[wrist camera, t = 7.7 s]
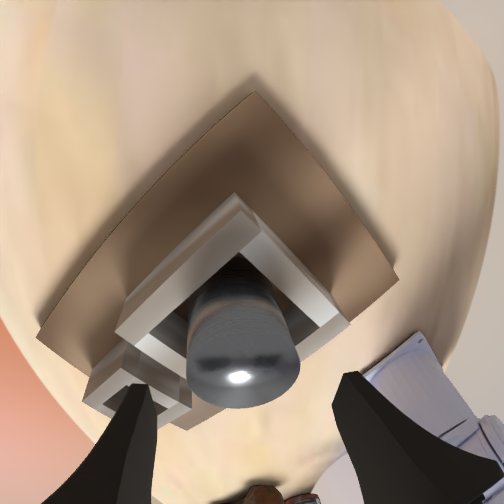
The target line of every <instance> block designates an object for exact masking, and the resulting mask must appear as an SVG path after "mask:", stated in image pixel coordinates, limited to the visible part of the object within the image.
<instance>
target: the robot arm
mask: <svg viewBox="0 0 504 504" xmlns="http://www.w3.org/2000/svg"><path fill="white" fill-rule="evenodd" d="M332 409H333V413H334V417H335V421H336V424H337V428H338V430H339V433H340V435H341V437H342V440H343V442H344V445H345V447H346V449H347V452H348V454H349V457H350V459H351V461H352V464H353V466H354V468H355V471H356V474H357V476H358V480H359V484H360V487H361V492H362V495H363V500H364V504H504V424H503V423H502V422H501V421H500V420H499V419H498V418H497V417H496V416H495V415H492V416H488V415H485V416H484V417H483V418H482V419H479V418H477V417H476V416H475V415H474V413H473V412H472V410H471V409H470V407H469V406H468V405H467V403H466V402H465V401H464V399H463V398H462V397H461V395H460V394H459V392H458V391H457V390H456V388H455V387H454V386H453V384H452V383H451V382H450V381H449V379H448V378H447V376H446V375H445V374H444V372H443V369H442V367H441V365H440V364H439V362H438V360H437V358H436V356H435V354H434V353H433V351H432V349H431V347H430V345H429V344H428V342H427V340H426V338H425V337H424V335H423V334H422V332H420V331H418V332H416V333H415V334H413V335H412V336H411V337H410V338H409V339H408V340H406V341H405V342H404V343H403V344H402V345H401V346H399V347H398V348H397V349H396V350H394V351H393V352H392V353H391V354H389V355H388V356H387V357H386V358H384V359H383V360H382V361H381V362H379V363H378V364H377V365H375V366H374V367H373V368H371V369H370V370H369V371H367V372H366V373H365V374H363V375H361V374H360V373H359V372H358V371H354V372H348V373H344V374H343V376H342V379H341V382H340V384H339V387H338V390H337V392H336V395H335V398H334V400H333V403H332ZM156 444H157V413H156V410H155V406H154V403H153V399H152V396H151V392H150V389H149V385H148V384H136V383H132V384H131V385H130V386H129V388H128V390H127V392H126V394H125V396H124V398H123V400H122V402H121V404H120V405H119V407H118V409H117V411H116V413H115V414H114V416H113V418H112V419H111V421H110V423H109V424H108V426H107V428H106V429H105V431H104V433H103V434H102V436H101V437H100V439H99V440H98V442H97V443H96V444H95V446H94V447H93V449H92V450H91V452H90V453H89V454H88V456H87V457H86V458H85V460H84V461H83V462H82V463H81V465H80V466H79V467H78V468H77V469H76V471H75V472H74V473H73V474H72V475H71V476H70V477H69V478H68V479H67V480H66V481H65V482H64V483H63V484H62V485H61V486H60V487H59V488H58V489H57V490H56V491H55V492H54V493H53V494H52V495H50V496H49V497H48V498H47V499H46V500H45V501H44V502H42V503H41V504H151V487H152V478H153V469H154V461H155V453H156Z"/></svg>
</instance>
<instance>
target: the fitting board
mask: <svg viewBox="0 0 504 504" xmlns="http://www.w3.org/2000/svg"><path fill="white" fill-rule="evenodd" d="M233 257H241V258H245V259H248V260H249V261H250V262H251V263H252V264H253V265H254V266H255V267H256V268H257V269H258V270H259V271H260V272H261V273H263V274H264V275H265V276H266V277H267V278H268V279H269V281H270V283H271V286H272V288H273V291H274V294H275V296H276V299H277V301H278V304H279V306H280V309H281V312H282V314H283V317H284V319H285V322H286V325H287V327H288V330H289V332H290V335H291V338H292V340H293V343H294V345H295V348H296V351H297V353H298V356H299V359H300V362H302V361H303V360H304V359H306V358H307V357H309V356H310V355H311V354H313V353H314V352H315V351H317V350H318V349H320V348H321V347H322V346H324V345H325V344H326V343H328V342H329V341H330V340H331V339H333V338H334V337H335V336H337V335H338V334H339V333H341V332H342V331H343V330H344V329H346V328H347V327H348V326H349V325H351V324H350V323H349V322H350V321H352V320H353V319H354V318H355V317H357V316H358V315H359V314H360V313H362V312H363V311H364V310H365V309H366V308H368V307H369V306H370V305H371V304H372V303H373V302H375V301H376V300H377V299H378V298H379V297H380V296H382V295H383V294H384V293H385V292H386V291H387V290H388V289H390V288H391V287H392V286H393V285H394V284H395V283H396V282H397V281H398V280H399V278H398V276H397V275H396V273H395V272H394V270H393V268H392V267H391V265H390V264H389V262H388V261H387V259H386V257H385V256H384V254H383V253H382V251H381V250H380V248H379V247H378V245H377V244H376V242H375V241H374V239H373V238H372V236H371V235H370V233H369V232H368V230H367V229H366V228H365V226H364V225H363V223H362V222H361V220H360V219H359V217H358V216H357V215H356V213H355V212H354V210H353V209H352V208H351V206H350V205H349V204H348V202H347V201H346V199H345V198H344V197H343V195H342V194H341V193H340V191H339V190H338V189H337V187H336V186H335V185H334V183H333V182H332V181H331V179H330V178H329V177H328V176H327V174H326V173H325V172H324V170H323V169H322V168H321V167H320V165H319V164H318V163H317V161H316V160H315V159H314V158H313V156H312V155H311V154H310V153H309V152H308V150H307V149H306V148H305V147H304V145H303V144H302V143H301V142H300V141H299V139H298V138H297V137H296V136H295V135H294V134H293V132H292V131H291V130H290V129H289V128H288V126H287V125H286V124H285V123H284V122H283V121H282V120H281V118H280V117H279V116H278V115H277V114H276V113H275V112H274V111H273V109H272V108H271V107H270V106H269V105H268V104H267V103H266V102H265V101H264V100H263V98H262V97H261V96H260V95H259V94H258V93H257V92H256V91H254V92H252V93H251V94H250V95H249V96H248V97H246V98H245V99H244V100H243V101H242V102H240V103H239V104H238V105H237V106H236V107H235V108H234V109H232V110H231V111H230V112H229V113H228V114H227V115H226V116H224V117H223V118H222V119H221V120H220V121H219V122H218V123H217V124H215V125H214V126H213V127H212V128H211V129H210V130H209V131H208V132H207V133H206V134H205V135H204V136H202V137H201V138H200V139H199V140H198V141H197V142H196V143H195V144H194V145H193V146H192V147H191V148H190V149H189V150H188V151H187V152H186V153H185V154H184V155H183V156H182V157H181V158H180V159H179V160H178V161H177V162H176V163H175V164H174V165H173V166H172V167H171V168H170V169H169V170H168V171H167V172H166V173H165V174H164V175H163V176H162V177H161V178H160V179H159V180H158V181H157V182H156V183H155V184H154V185H153V186H152V188H151V189H150V190H149V191H148V192H147V193H146V194H145V195H144V196H143V197H142V198H141V199H140V201H139V202H138V203H137V204H136V205H135V206H134V207H133V208H132V210H131V211H130V212H129V213H128V214H127V215H126V216H125V218H124V219H123V220H122V221H121V222H120V223H119V225H118V226H117V227H116V228H115V229H114V230H113V232H112V233H111V234H110V235H109V236H108V238H107V239H106V240H105V241H104V243H103V244H102V245H101V246H100V247H99V249H98V250H97V251H96V252H95V254H94V255H93V256H92V258H91V259H90V260H89V261H88V263H87V264H86V265H85V267H84V268H83V269H82V271H81V272H80V273H79V275H78V276H77V277H76V279H75V280H74V281H73V283H72V284H71V285H70V287H69V288H68V289H67V291H66V292H65V294H64V295H63V297H62V298H61V299H60V301H59V302H58V304H57V305H56V307H55V308H54V309H53V311H52V312H51V314H50V315H49V317H48V318H47V320H46V321H45V323H44V324H43V326H42V328H41V329H40V331H39V333H38V334H37V336H36V338H37V339H38V340H39V341H41V342H42V343H43V344H44V345H46V346H47V347H48V348H50V349H51V350H52V351H53V352H55V353H56V354H57V355H59V356H60V357H61V358H63V359H64V360H66V361H67V362H68V363H70V364H71V365H73V366H74V367H75V368H77V369H78V370H80V371H81V372H83V373H84V374H86V375H87V376H89V377H90V378H89V381H88V384H87V387H86V390H85V393H84V397H83V400H82V402H84V403H85V404H87V405H89V406H90V407H92V408H94V409H95V410H97V411H99V412H100V413H102V414H104V415H106V416H108V417H109V418H111V419H112V418H113V416H114V414H115V413H116V411H117V409H118V407H119V405H120V404H121V402H122V400H123V398H124V396H125V394H126V392H127V390H128V388H129V386H130V385H131V384H132V383H136V384H148V385H149V389H150V392H151V396H152V399H153V403H154V406H155V410H156V413H157V429H159V428H161V427H162V426H164V425H166V424H168V423H172V424H174V425H176V426H178V427H180V428H182V429H184V430H189V429H191V428H192V427H194V426H196V425H198V424H200V423H201V422H203V421H205V420H207V419H209V418H210V417H212V416H214V415H215V414H217V413H219V412H221V411H222V410H224V409H226V408H224V407H219V406H216V405H213V404H210V403H208V402H206V401H204V400H202V399H201V398H199V397H198V396H197V395H196V394H195V393H194V392H193V391H192V390H191V389H190V387H189V385H188V382H187V379H186V357H187V332H188V312H189V296H190V295H191V294H192V293H193V292H194V291H196V290H197V289H198V288H199V287H200V286H201V285H202V284H203V283H204V282H206V281H207V280H208V279H209V278H210V277H211V276H212V275H213V274H215V273H216V272H217V271H218V270H219V269H220V268H221V267H222V266H224V265H225V264H226V263H227V262H228V261H229V260H230V259H231V258H233Z"/></svg>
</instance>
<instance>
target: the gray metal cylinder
mask: <svg viewBox="0 0 504 504" xmlns="http://www.w3.org/2000/svg"><path fill="white" fill-rule="evenodd" d="M299 371H300V359H299V356H298V353H297V351H296V348H295V345H294V343H293V340H292V338H291V335H290V332H289V330H288V327H287V325H286V322H285V319H284V317H283V314H282V312H281V309H280V306H279V304H278V301H277V299H276V296H275V294H274V291H273V288H272V286H271V283H270V281H269V279H268V278H267V277H266V276H265V275H264V274H263V273H261V272H260V271H259V270H258V269H257V268H256V267H255V266H254V265H253V264H252V263H251V262H250V261H249V260H248V259H245V258H241V257H233V258H231V259H230V260H229V261H228V262H227V263H226V264H225V265H224V266H222V267H221V268H220V269H219V270H218V271H217V272H216V273H215V274H213V275H212V276H211V277H210V278H209V279H208V280H207V281H206V282H204V283H203V284H202V285H201V286H200V287H199V288H198V289H197V290H196V291H194V292H193V293H192V294H191V295H190V296H189V312H188V332H187V357H186V379H187V382H188V385H189V387H190V389H191V390H192V391H193V392H194V393H195V394H196V395H197V396H198V397H199V398H201V399H202V400H204V401H206V402H208V403H210V404H213V405H216V406H219V407H224V408H237V409H239V408H250V407H255V406H259V405H262V404H265V403H268V402H270V401H272V400H274V399H276V398H278V397H279V396H281V395H282V394H284V393H285V392H286V391H287V390H288V389H289V388H290V387H291V386H292V385H293V384H294V382H295V381H296V379H297V377H298V375H299Z"/></svg>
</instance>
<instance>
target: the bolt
mask: <svg viewBox="0 0 504 504" xmlns="http://www.w3.org/2000/svg"><path fill="white" fill-rule="evenodd" d="M234 504H284V500H283V497H282V495H281V493H280V492H279V491H278V490H277V489H276V488H275V487H273V486H269V485H255V486H253V487H251V488H250V490H249V492H248V494H247V496H246V498H245V499H243V500H241V501H239V502H236V503H234Z"/></svg>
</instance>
